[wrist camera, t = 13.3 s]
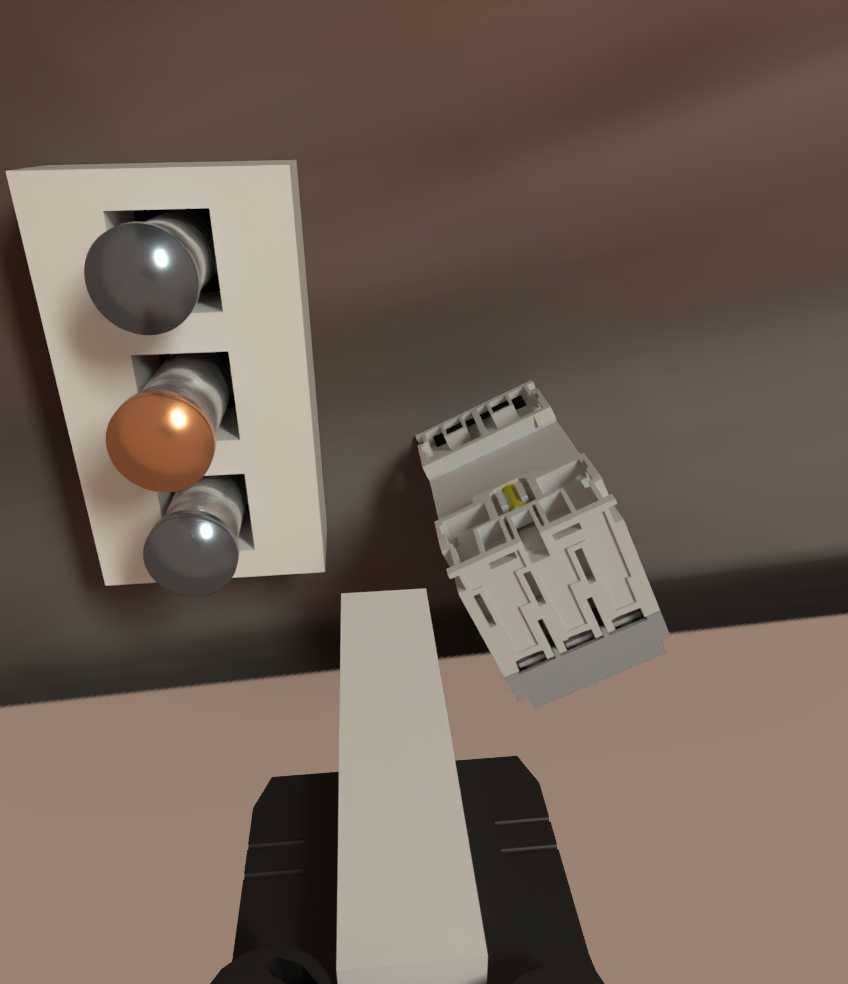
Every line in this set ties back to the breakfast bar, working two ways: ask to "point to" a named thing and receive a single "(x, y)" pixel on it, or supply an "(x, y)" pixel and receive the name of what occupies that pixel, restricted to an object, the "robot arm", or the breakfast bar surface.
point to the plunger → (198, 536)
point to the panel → (187, 348)
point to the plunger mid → (171, 423)
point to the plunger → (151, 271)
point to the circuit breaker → (538, 550)
